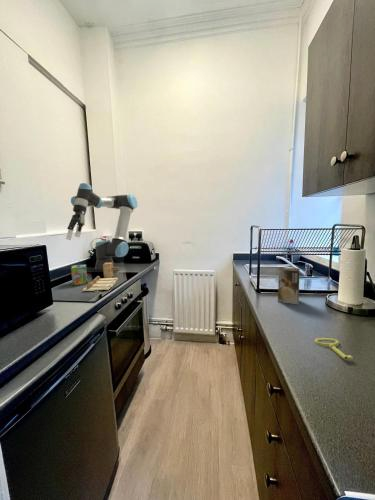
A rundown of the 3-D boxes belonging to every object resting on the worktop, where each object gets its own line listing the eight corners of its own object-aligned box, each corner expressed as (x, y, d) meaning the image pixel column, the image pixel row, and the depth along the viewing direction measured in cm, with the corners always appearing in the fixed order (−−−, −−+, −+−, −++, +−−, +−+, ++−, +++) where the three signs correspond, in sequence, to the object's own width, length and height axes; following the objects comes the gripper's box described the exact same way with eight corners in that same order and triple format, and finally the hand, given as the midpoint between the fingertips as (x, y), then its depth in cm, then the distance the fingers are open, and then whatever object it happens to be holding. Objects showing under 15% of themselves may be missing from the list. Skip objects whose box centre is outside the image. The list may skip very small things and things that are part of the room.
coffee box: (298, 300, 110) (300, 268, 107) (298, 304, 104) (300, 271, 101) (278, 297, 114) (279, 266, 111) (277, 301, 108) (278, 269, 106)
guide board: (95, 280, 153) (94, 275, 152) (117, 279, 154) (117, 274, 153) (82, 292, 131) (82, 286, 130) (109, 290, 132) (108, 284, 131)
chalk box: (73, 282, 151) (70, 260, 149) (87, 280, 155) (85, 259, 153) (72, 286, 143) (69, 263, 141) (88, 283, 147) (85, 261, 144)
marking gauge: (106, 276, 164) (105, 262, 162) (120, 275, 164) (119, 262, 163) (104, 278, 158) (102, 264, 156) (118, 277, 159) (117, 263, 157)
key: (346, 364, 64) (346, 358, 64) (311, 342, 76) (311, 336, 76) (364, 359, 66) (365, 353, 66) (327, 338, 78) (328, 332, 78)
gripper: (67, 208, 149) (59, 238, 144) (83, 199, 132) (74, 233, 127) (78, 212, 154) (71, 242, 149) (95, 204, 138) (87, 237, 132)
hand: (72, 238), depth 138 cm, fingers open, 13 cm apart
